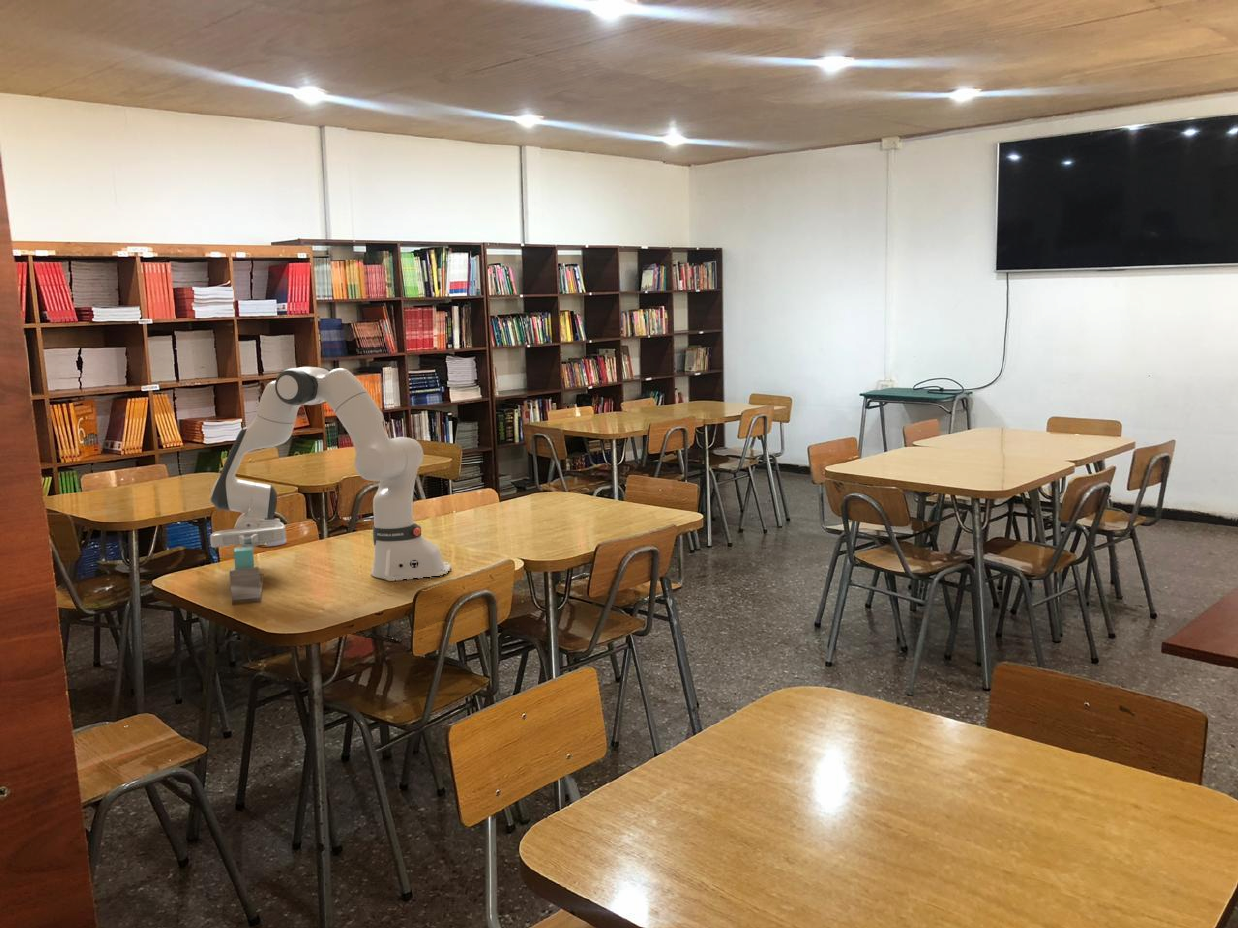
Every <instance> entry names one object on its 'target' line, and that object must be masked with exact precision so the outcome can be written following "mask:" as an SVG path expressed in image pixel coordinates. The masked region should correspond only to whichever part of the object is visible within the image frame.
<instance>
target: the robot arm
mask: <svg viewBox="0 0 1238 928" xmlns="http://www.w3.org/2000/svg"><path fill="white" fill-rule="evenodd" d="M325 403H326V404H328V405H329V406H330V409H331V410H332V411H333V413H334V414H335V415H336V417H337V418H338V420H339V422H340V423H341V424H342V426H343V427H344V429H345V430H346V432H347V433H348V435H349V437H350V440H351V441H352V445H353V447H354V452H355V456H354V457H355V458H354V468H355V471H356V473H357V474H358V475H359V477H361V479H364V480H366V481H369V482H370V481H373V482H379V485H378V489H377V491H376V493H375V494H374V497H373V500H372V507H373V508H372V509H373V511H372V512H373V523H374V524H373V525H374V526H372V540H373V545H374V557H373V563H372V564H373V565H372V570H371V574H370V575H372V577H374V578H378V579H383V580H386V581H390V582H394V581H395V580H396V581H404V580H403V579H407V580H414V579H413V578H418V579H424V578H423V577H430V578H432V577H431V576H438V575H443V574H445V573H447V572H448V571H449V570H450V567H451V564H450V562H447V561H444V560H443V555H442V552H441V549H440V547H439V546H438V545H436V544H434V543H433V542H431V541H430V540H428V539H426V538H425V537H424V536H422V525H421V524H419V525H418V524H417V523H416V522H414V505H413V504H414V503H413V501H414V499H413V498H414V490H415V489H414V488H415V485H416V477H417V474H418V471H419V468H420V466H421V465H422V462H423V460H424V449H423V447H422V445H421V444H420V442H419V441H417V439H415V438H411V437H407V436H397V437H392V438H390V437H389V436H388V434H387V432H386V430H385V427H384V423H383V422H384V419H385V418H384V413H383V412H382V410H381V408H379V406H378V405H377V403H376V401H375V400H374V399H373V397H372V396H371V394H370V393H369V392H368V390H367V389H366V388H365V387H364V385H363V384H362V383H361V381H360V380H359V379H358V378H357V376H355V375H354V374H353V373H352V372H351V371H350V370H348V369H347V368H345V367H344V368H342V367H338V368H334V369H331V368H328V367H325V366H324V367H323V366H317V367H316V366H315V367H314V366H300V367H290V368H287V369H285V370H283V371H281V372H280V373H279V374H278V376H277V377H276V379H275V380H272V381H270V382H269V383H267V384H266V386H265V388H264V390H263V393H262V394H261V397H260V399H259V402H258V407H257V411H256V414H255V417H254V419H253V421H252V422H251V423H250V424H249V425H248V426H246V427H242V428H241V430H240V431H239V432H238V434H237V435H236V438H235V441H234V443H233V444H232V446H231V449H230V451H229V453H228V456H227V458H226V460H225V462H224V464H223V467H222V469H221V472H220V475H219V476H218V477H217V479H216V480H215V482H214V483H213V485H212V488H211V490H210V502H211V503H212V505H213V506H214V507H215V508H216V509H218V511H228V512H238V513H241V515H239V516H238V518H237V520H236V522H235V525H234V527H233V528H231V529H221V530H218V531H214V532H213V533H211V534H210V535H209V541H210V542H209V543H210V546H211V548H222V547H223V548H224V547H232V546H241V547H251V546H253V548H256V547H257V546H259V545H262V544H264V543H268V542H273V541H279V540H285V539H286V540H287V530H286V525H285V524H284V522H282V521H281V519H280V518H278V517H277V518H276V517H275V514H276V509H277V501H278V493H277V491H276V489H275V487H274V486H273V485H272V484H267V483H262V482H258V481H255V482H254V481H250V480H246V479H241V478H237V477H236V474H237V472H238V469H239V468H240V465H241V463H242V461H243V458H244V456H245V455H246V454H247V453H249V452H252V451H255V450H259V449H260V450H261V449H269V448H274V447H278V446H281V445H283V444H284V443H286V442H287V441H288V440H289V439H290V438H291V436H292V435H293V432H294V428H295V424H296V420H297V416H298V411H299V409H300V407H301V406H303V405H304V406H307V405H308V406H314V405H315V406H316V405H319V404H325ZM274 517H275V518H274ZM451 568H452V567H451ZM450 571H451V570H450Z"/></svg>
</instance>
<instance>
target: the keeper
mask: <svg viewBox="0 0 1238 928" xmlns="http://www.w3.org/2000/svg"><path fill="white" fill-rule="evenodd" d="M233 556H234V557H233V558H234V569H240V568H250V567H255V555H254V547H253V546H251V547H243V546H241V547H235V548H234V550H233Z"/></svg>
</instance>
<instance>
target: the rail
mask: <svg viewBox="0 0 1238 928" xmlns="http://www.w3.org/2000/svg"><path fill="white" fill-rule="evenodd" d="M228 572H229V582H230V594H231V605H232V606H236V605H245V604H252V603H253V604H254V603H261V602H262V597H263V587H264V579H265V578H264V573H260V569H259V566H254V567H250V568H240V569H235V568H233V569H231V568H230V569H229V571H228Z"/></svg>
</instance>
